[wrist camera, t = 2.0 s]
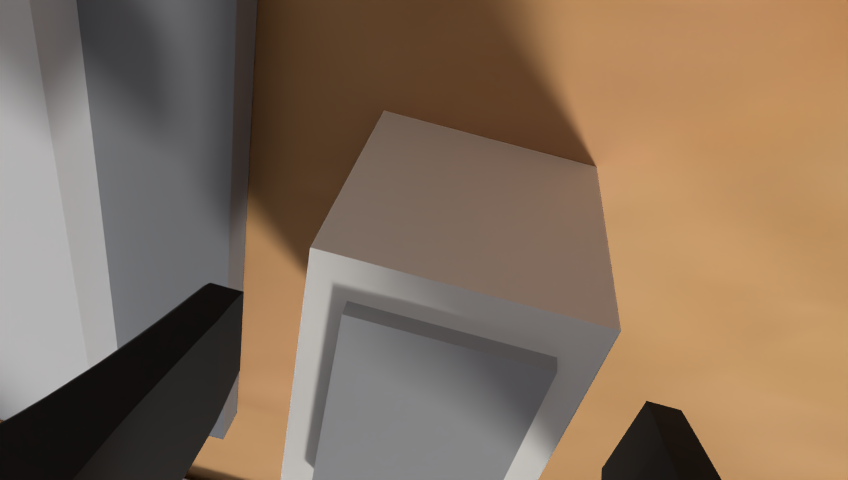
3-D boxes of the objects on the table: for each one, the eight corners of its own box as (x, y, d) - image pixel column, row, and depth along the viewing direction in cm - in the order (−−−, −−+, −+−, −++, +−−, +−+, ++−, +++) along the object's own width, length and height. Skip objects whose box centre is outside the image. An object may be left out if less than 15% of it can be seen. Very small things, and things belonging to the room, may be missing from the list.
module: (511, 361, 16) (500, 560, 12) (345, 317, 16) (274, 499, 12) (596, 164, 13) (623, 346, 8) (384, 108, 13) (303, 260, 8)
